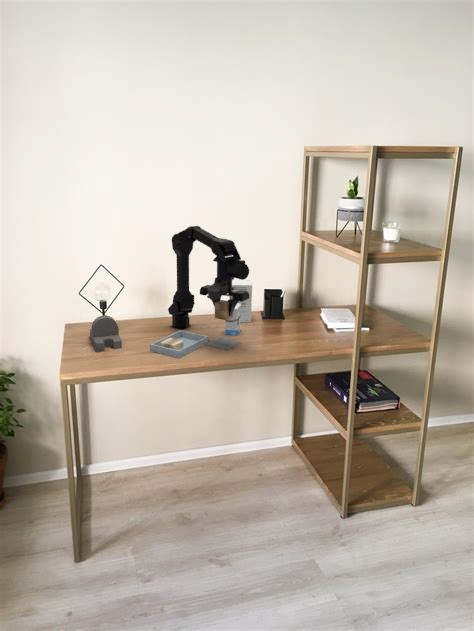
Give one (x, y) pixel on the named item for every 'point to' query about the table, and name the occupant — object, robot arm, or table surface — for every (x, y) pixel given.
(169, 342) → the birch box
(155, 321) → the table surface
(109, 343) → the bracket
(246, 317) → the supplement box
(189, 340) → the parts bin
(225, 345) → the mat
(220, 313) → the walnut box
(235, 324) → the ink box
